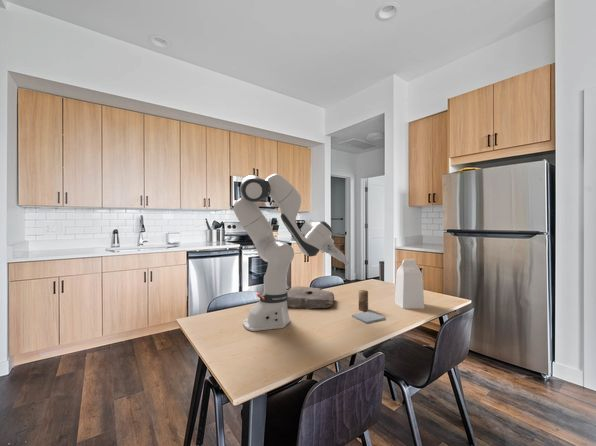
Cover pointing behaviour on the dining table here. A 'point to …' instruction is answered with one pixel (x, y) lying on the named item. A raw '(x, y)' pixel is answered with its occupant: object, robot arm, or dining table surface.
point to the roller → (363, 300)
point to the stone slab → (309, 297)
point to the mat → (368, 317)
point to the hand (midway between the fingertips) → (344, 262)
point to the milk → (409, 286)
